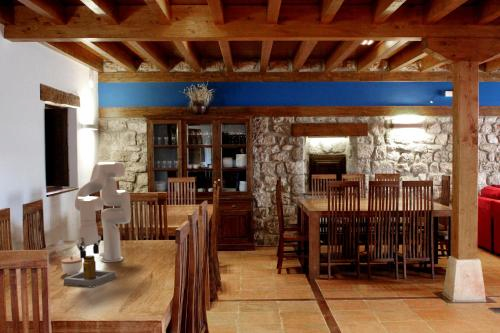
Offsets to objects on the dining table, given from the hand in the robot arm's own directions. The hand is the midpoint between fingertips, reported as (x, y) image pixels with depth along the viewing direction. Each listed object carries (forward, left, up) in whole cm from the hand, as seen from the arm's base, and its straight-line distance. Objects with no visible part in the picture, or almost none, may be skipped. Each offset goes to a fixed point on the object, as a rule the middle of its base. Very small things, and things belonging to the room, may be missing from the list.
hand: (89, 255), depth 243 cm
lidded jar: (-20, +9, -13) cm, 25 cm away
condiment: (0, +1, -13) cm, 13 cm away
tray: (0, 0, -13) cm, 13 cm away
